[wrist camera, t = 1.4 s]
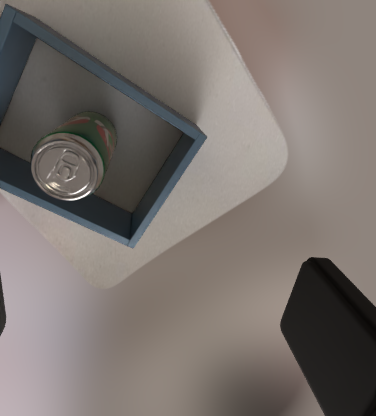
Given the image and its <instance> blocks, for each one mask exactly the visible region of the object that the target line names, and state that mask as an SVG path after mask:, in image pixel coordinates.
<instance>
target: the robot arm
mask: <svg viewBox="0 0 376 416" xmlns="http://www.w3.org/2000/svg"><path fill="white" fill-rule="evenodd" d="M5 323H6V312H5V305H4V297H3V290H2V283H1V276H0V335H1V334H2V332H3V329H4V327H5ZM280 326H281V331H282V333H283V335H284V337H285V339H286V341H287V343H288V345H289V347H290V349H291V351H292V353H293V355H294V357H295V358H296V361H297V362H298V364H299V366H300V368H301V370H302V372H303V374H304V376H305V378H306V380H307V382H308V384H309V386H310V388H311V389H312V391H313V393H314V395H315V397H316V399H317V401H318V403H319V405H320V407H321V409H322V411H323V413H324V415H325V416H376V307H375V306H374V305H373V304H372V303H371V302H370V301H369V300H368V299H367V298H366V297H365V296H364V295H363V294H362V292H361V291H360V290H359V289H357V287H356V286H355V285H354V284H353V283H352V282H351V281H350V280H349V279H348V278H347V277H346V276H345V275H344V274H343V273H342V272H341V271H340V270H339V269H338V268H337V267H336V266H335V264H333V263H332V261H331V260H329V259H328V258H314V257H311V258H309V259H308V260H307V261H305V262H304V263H303V264H302V266H301V268H300V271H299V274H298V276H297V279H296V282H295V284H294V287H293V290H292V292H291V295H290V298H289V300H288V303H287V306H286V308H285V311H284V314H283V316H282V319H281V324H280Z"/></svg>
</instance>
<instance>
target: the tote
mask: <svg viewBox="0 0 376 416" xmlns="http://www.w3.org/2000/svg"><path fill="white" fill-rule="evenodd" d="M36 38H39V39H40V40H42V41H43V42H45V43H47V44H48V45H50V46H51V47H53V48H54V49H56V50H57V51H59V52H60V53H62V54H64V55H65V56H67V57H68V58H70V59H71V60H73V61H74V62H76V63H77V64H79V65H81V66H82V67H84V68H85V69H87V70H88V71H90V72H91V73H93V74H94V75H96V76H98V77H99V78H101V79H102V80H104V81H105V82H107V83H108V84H110V85H111V86H113V87H115V88H116V89H118V90H119V91H121V92H122V93H124V94H125V95H127V96H128V97H130V98H132V99H133V100H135V101H136V102H138V103H139V104H141V105H142V106H144V107H145V108H147V109H149V110H150V111H152V112H153V113H155V114H156V115H158V116H159V117H161V118H162V119H164V120H166V121H167V122H169V123H170V124H172V125H173V126H175V127H176V128H178V129H179V130H181V131H183V132H184V133H183V135H182V137H181V138H180V140H179V141H178V143H177V145H176V146H175V148H174V149H173V151H172V152H171V154H170V156H169V157H168V159H167V160H166V162H165V163H164V165H163V167H162V168H161V170H160V171H159V173H158V175H157V176H156V178H155V179H154V181H153V182H152V184H151V186H150V187H149V189H148V190H147V192H146V194H145V195H144V197H143V198H142V200H141V201H140V203H139V205H138V206H137V208H136V209H135V211H134V213H133V214H131V213H129V212H127V211H125V210H123V209H121V208H119V207H117V206H115V205H113V204H111V203H109V202H107V201H105V200H103V199H101V198H99V197H97V196H95V195H93V194H91V195H89V196H87V197H84V198H80V199H76V200H61V199H57V198H54V197H52V196H50V195H48V194H47V193H45V192H44V191H43V190H42V189H41V188H40V187H39V186H38V185H37V183H36V182H35V180H34V177H33V174H32V169H31V163H29V162H27V161H25V160H23V159H21V158H19V157H17V156H15V155H13V154H11V153H9V152H7V151H5V150H3V149H1V148H0V188H1V189H3V190H5V191H7V192H9V193H12V194H14V195H16V196H18V197H20V198H23V199H25V200H27V201H29V202H31V203H34V204H36V205H38V206H40V207H42V208H45V209H47V210H49V211H51V212H53V213H56V214H58V215H60V216H62V217H64V218H67V219H69V220H71V221H73V222H75V223H78V224H80V225H82V226H84V227H86V228H89V229H91V230H93V231H95V232H97V233H100V234H102V235H104V236H106V237H108V238H111V239H113V240H115V241H117V242H119V243H122V244H124V245H127V246H128V247H130V248H134V247H135V245H136V244H137V242H138V241H139V239H140V238H141V236H142V235H143V233H144V232H145V230H146V229H147V227H148V226H149V224H150V223H151V221H152V220H153V218H154V217H155V215H156V214H157V212H158V211H159V209H160V208H161V206H162V205H163V203H164V202H165V200H166V199H167V197H168V196H169V194H170V193H171V191H172V190H173V188H174V187H175V185H176V184H177V182H178V180H179V179H180V177H181V176H182V174H183V173H184V171H185V170H186V168H187V167H188V165H189V164H190V162H191V161H192V159H193V158H194V156H195V155H196V153H197V152H198V150H199V149H200V147H201V146H202V144H203V143H204V141H205V140H206V138H207V136H206V135H205V134H204V133H203V132H202V131H201V130H200V128H199V127H198V126H197V125H196V124H194V123H193V122H191V121H190V120H188V119H187V118H185V117H184V116H182V115H181V114H179V113H178V112H176V111H175V110H173V109H172V108H170V107H169V106H167V105H166V104H164V103H163V102H161V101H160V100H158V99H157V98H155V97H154V96H152V95H151V94H149V93H148V92H146V91H145V90H143V89H142V88H140V87H139V86H137V85H136V84H134V83H133V82H131V81H130V80H128V79H127V78H125V77H124V76H122V75H121V74H119V73H118V72H116V71H115V70H113V69H112V68H110V67H109V66H107V65H106V64H104V63H103V62H101V61H100V60H98V59H97V58H95V57H94V56H92V55H91V54H89V53H88V52H86V51H85V50H83V49H82V48H80V47H79V46H77V45H76V44H74V43H73V42H72V41H70V40H69V39H67V38H66V37H64V36H63V35H61V34H60V33H58V32H57V31H55V30H54V29H52V28H51V27H49V26H48V25H46V24H45V23H43V22H42V21H40V20H39V19H37V18H36V17H34V16H32V15H29V14H27V13H25V12H23V11H21V10H19V9H16V8H14V7H12V6H10V5H8V4H5V7H4V10H3V12H2V15H1V18H0V125H1V122H2V120H3V117H4V115H5V113H6V110H7V108H8V105H9V103H10V101H11V98H12V96H13V93H14V91H15V89H16V86H17V84H18V81H19V79H20V76H21V74H22V72H23V69H24V67H25V64H26V62H27V60H28V57H29V55H30V52H31V50H32V48H33V45H34V43H35V40H36Z"/></svg>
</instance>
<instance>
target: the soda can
mask: <svg viewBox="0 0 376 416" xmlns="http://www.w3.org/2000/svg"><path fill="white" fill-rule="evenodd" d="M116 143H117V135H116V131H115V128H114V126H113V125H112V123H111V122H110V121H109V120H108V119H107V118H106V117H105V116H103V115H101V114H99V113H96V112H90V111H88V112H82V113H79V114H77V115H75V116H74V117H72V118H71V119H69V120H68V121H66V122H65V123H64V124H62V125H61V126H59V127H58V128H56V129H55V130H53V131H52V132H50V133H49V134H47V135H46V136H45V137H43V138H42V139H41V140H39V141H38V142H37V144H36V145H35V147H34V149H33V151H32V155H31V169H32V174H33V177H34V180H35V182H36V183H37V185H38V186H39V187H40V188H41V189H42V190H43V191H44V192H45V193H47V194H48V195H50V196H52V197H54V198H57V199H61V200H76V199H80V198H84V197H87V196H89V195H91V194H92V193H94V192H95V191H96V190H97V189H98V188H99V186H100V185H101V183H102V181H103V179H104V176H105V173H106V171H107V168H108V165H109V163H110V160H111V157H112V155H113V152H114V149H115V146H116Z"/></svg>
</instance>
